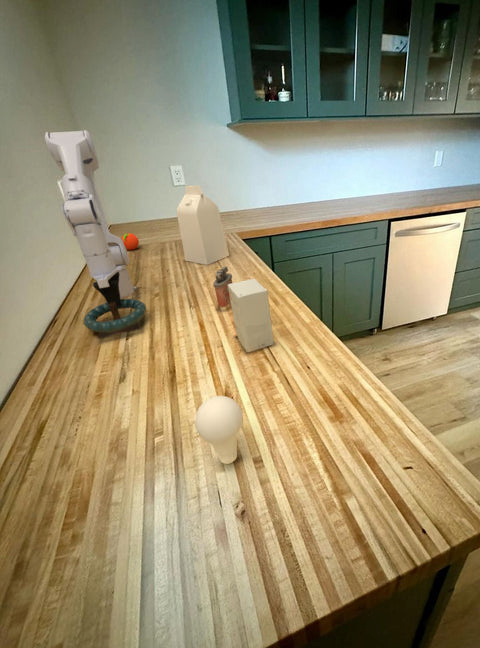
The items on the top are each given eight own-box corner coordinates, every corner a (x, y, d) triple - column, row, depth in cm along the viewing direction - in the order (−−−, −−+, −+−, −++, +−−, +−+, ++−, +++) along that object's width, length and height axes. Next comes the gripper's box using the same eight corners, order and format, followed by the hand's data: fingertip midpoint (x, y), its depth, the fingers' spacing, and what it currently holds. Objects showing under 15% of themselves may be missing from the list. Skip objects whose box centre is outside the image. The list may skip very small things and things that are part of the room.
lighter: (227, 311, 89) (220, 275, 84) (215, 310, 90) (208, 275, 85) (238, 298, 96) (232, 264, 91) (227, 297, 96) (221, 264, 92)
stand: (102, 325, 86) (92, 300, 82) (140, 317, 89) (131, 292, 85) (100, 342, 79) (88, 315, 75) (141, 332, 82) (132, 306, 78)
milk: (229, 255, 131) (216, 183, 118) (207, 264, 123) (191, 189, 110) (207, 251, 137) (193, 183, 124) (185, 260, 129) (168, 188, 116)
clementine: (135, 252, 143) (130, 235, 140) (119, 253, 143) (114, 236, 140) (143, 246, 150) (138, 230, 146) (128, 247, 150) (123, 231, 147)
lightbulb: (210, 445, 50) (195, 388, 45) (251, 440, 51) (240, 384, 45) (204, 481, 45) (185, 422, 40) (249, 476, 45) (237, 417, 40)
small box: (274, 344, 73) (268, 290, 67) (246, 353, 71) (237, 297, 65) (261, 328, 80) (254, 277, 73) (236, 336, 78) (226, 283, 71)
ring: (88, 313, 86) (85, 305, 84) (145, 300, 90) (143, 292, 89) (83, 340, 75) (79, 331, 74) (148, 324, 79) (145, 315, 78)
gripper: (114, 257, 75) (133, 311, 82) (116, 242, 87) (132, 290, 93) (78, 263, 73) (101, 318, 79) (85, 247, 84) (104, 296, 91)
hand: (116, 304), depth 86 cm, fingers closed on ring, 2 cm apart
